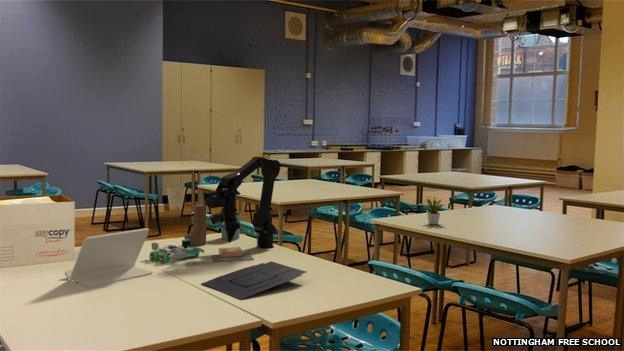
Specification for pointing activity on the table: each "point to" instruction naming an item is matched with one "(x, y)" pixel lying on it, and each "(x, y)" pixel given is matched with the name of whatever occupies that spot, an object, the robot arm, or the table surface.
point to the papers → (254, 279)
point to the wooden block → (198, 227)
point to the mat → (232, 258)
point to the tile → (230, 252)
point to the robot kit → (173, 252)
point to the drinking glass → (237, 233)
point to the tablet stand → (109, 258)
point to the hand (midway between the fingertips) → (229, 242)
